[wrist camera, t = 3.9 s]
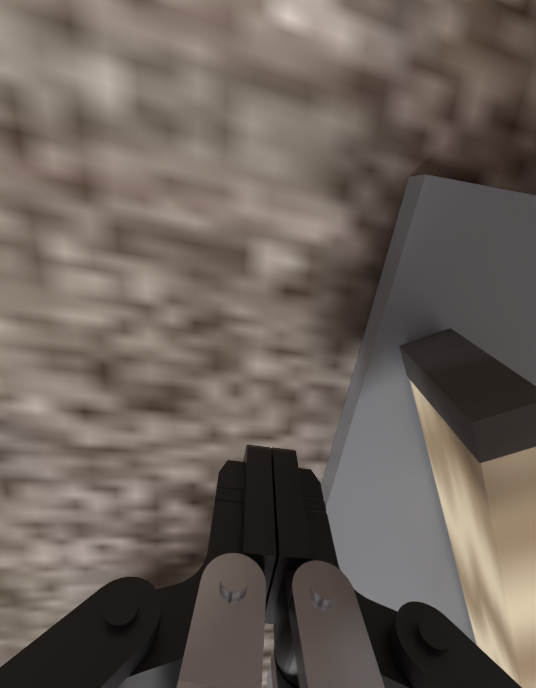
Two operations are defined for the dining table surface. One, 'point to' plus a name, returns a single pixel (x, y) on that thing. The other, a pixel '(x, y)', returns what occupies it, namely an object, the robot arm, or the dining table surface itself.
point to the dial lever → (484, 487)
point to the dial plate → (396, 392)
